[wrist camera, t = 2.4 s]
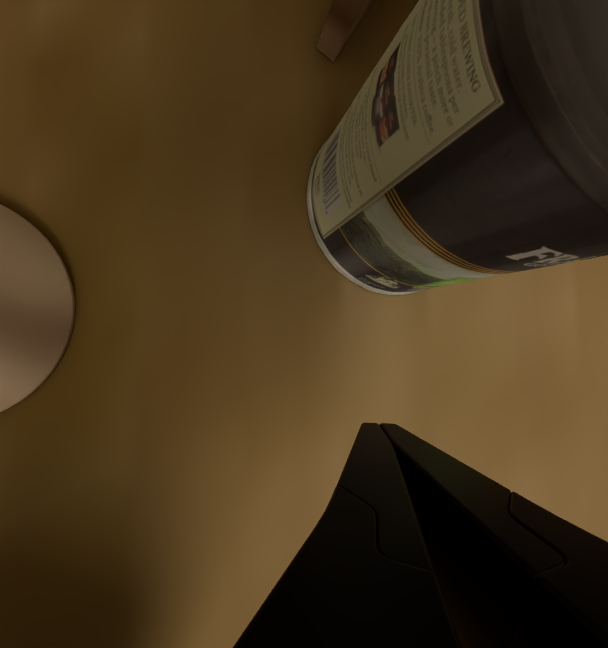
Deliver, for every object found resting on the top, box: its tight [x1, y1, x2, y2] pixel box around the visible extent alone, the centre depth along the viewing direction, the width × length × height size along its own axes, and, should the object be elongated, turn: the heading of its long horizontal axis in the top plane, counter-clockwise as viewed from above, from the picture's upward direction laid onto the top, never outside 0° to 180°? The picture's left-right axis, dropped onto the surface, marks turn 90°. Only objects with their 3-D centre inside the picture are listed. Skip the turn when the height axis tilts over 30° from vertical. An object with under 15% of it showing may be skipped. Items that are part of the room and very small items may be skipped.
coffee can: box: [307, 0, 608, 295], centre depth 15 cm, size 10×10×14 cm
